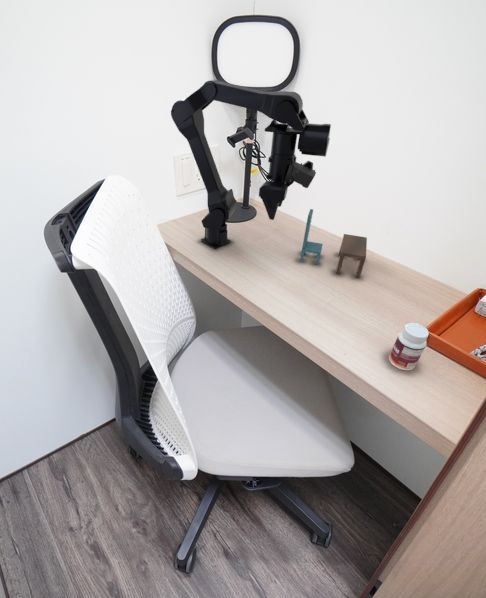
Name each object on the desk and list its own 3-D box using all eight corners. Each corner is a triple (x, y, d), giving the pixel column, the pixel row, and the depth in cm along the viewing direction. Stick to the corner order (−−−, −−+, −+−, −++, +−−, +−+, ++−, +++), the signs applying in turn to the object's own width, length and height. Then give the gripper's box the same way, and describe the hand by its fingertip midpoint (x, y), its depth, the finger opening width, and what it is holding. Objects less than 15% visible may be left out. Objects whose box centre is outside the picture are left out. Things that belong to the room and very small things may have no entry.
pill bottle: (388, 350, 72) (402, 318, 67) (414, 356, 71) (430, 324, 66) (388, 367, 69) (402, 334, 64) (415, 374, 68) (432, 341, 62)
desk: (335, 273, 95) (341, 252, 91) (338, 254, 103) (343, 233, 99) (359, 278, 93) (366, 256, 89) (360, 258, 102) (366, 237, 98)
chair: (299, 261, 100) (307, 215, 92) (302, 253, 104) (310, 208, 96) (317, 264, 99) (328, 218, 90) (320, 256, 102) (329, 211, 94)
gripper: (311, 166, 78) (300, 232, 88) (321, 145, 92) (310, 204, 102) (261, 161, 81) (255, 225, 91) (278, 141, 95) (271, 198, 105)
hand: (275, 212), depth 97 cm, fingers open, 9 cm apart
